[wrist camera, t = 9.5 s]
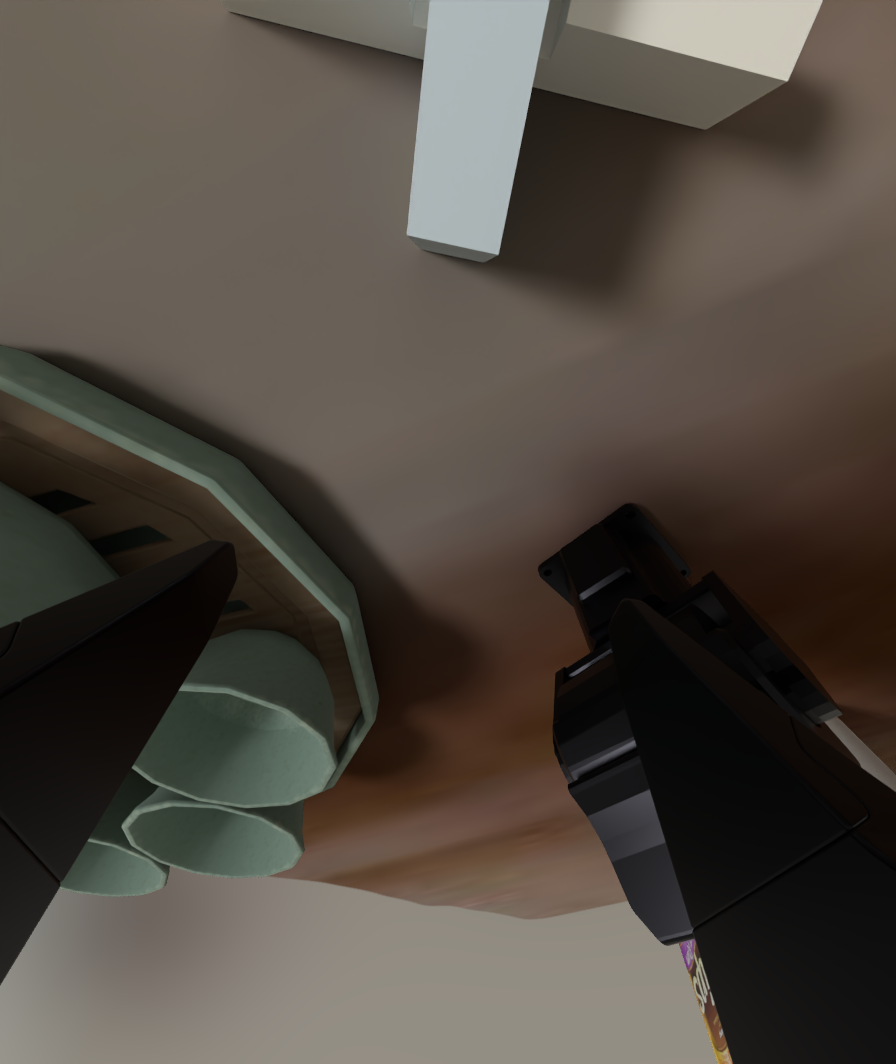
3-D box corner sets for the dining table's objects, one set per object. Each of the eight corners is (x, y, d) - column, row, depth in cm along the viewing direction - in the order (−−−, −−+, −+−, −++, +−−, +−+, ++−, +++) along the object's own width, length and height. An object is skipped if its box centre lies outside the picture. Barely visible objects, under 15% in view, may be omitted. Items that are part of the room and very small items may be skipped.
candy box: (669, 835, 43) (763, 1074, 30) (710, 835, 43) (822, 1075, 30) (650, 868, 48) (723, 1087, 35) (687, 868, 47) (774, 1088, 35)
